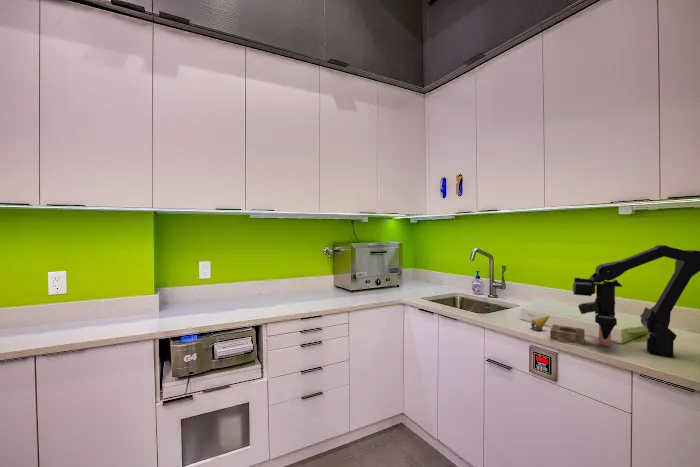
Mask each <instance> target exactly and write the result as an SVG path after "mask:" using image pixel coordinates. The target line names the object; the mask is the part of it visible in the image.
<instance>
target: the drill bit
mask: <svg viewBox="0 0 700 467" xmlns="http://www.w3.org/2000/svg"><path fill="white" fill-rule="evenodd" d="M549 318H550V315H546V316H544V317H539V318H536V319H535V318H533V319H531V323H530V325H531V326H530V327H531V328H530V330H532V331H535V332H536V331H538V330H539V331H542V330H543V329H544V326H545V325H546V323H547V321H548V320H549Z"/></svg>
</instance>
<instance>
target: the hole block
mask: <svg viewBox="0 0 700 467" xmlns="http://www.w3.org/2000/svg"><path fill="white" fill-rule="evenodd" d="M549 332H550V333H549V334H550V335H549V336H550V339H549V341H552V342H557V343H563V344H568V345H569V344H570V345H575V346H580V347H584V346H585V335H586V334H585V328H580V327H573V326H567V325H559V324H552V327H551V328H550V331H549Z"/></svg>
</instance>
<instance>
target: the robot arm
mask: <svg viewBox="0 0 700 467" xmlns="http://www.w3.org/2000/svg"><path fill="white" fill-rule="evenodd" d="M663 257H664V258H669V259H671V260H672V259H673V260H675V264H674V272H673V274H672V276H671V277H670V278H669V281H668V283H667V284H666V285H665V288H664V289H663V291H662V293H661V294H660V296H659V298H658V299H657V301H656V303H655V304H654V306H652V307H651V308H648V307H644V309H643V312H642V313H641V315H639V317H640V323H641V325H642V326H643V327H644V328H645V329H646V330H647V333H648V337H646V342H645V345H646V350H647V351H648V353H649V354H650V355H658V356H664V357H669V358H675V354H674V342H675V340H676V338H677V336H678V335H677V334H676V333H675V332H674V331H672V330H671V329H670V328H669V326H670V324H671V315H672V314H671V313H672V311H673V309H674V307H675V306H676V305H677V302H678V300H680V297H681V296H682V294H683V292H684V291H685V289H686V287H687V286H688V284H689V283H690V280H691V279H692V278H693V276H695V275H696V274H698V273H699V272H700V250H696V249H695V250H694V249H679V248H675V247H671V246H668V245H665V244H656V245H655V246H653V247H651V248H649V249H647V250H644V251H641V252H638V253H636V254H634V255H631V256H627V257H626V258H624V259H621V260H616V261H610V262H605V263H601V264H599V265H597V266H596V267H595V269H594V270H595V271H594V273H593V274H591V276H590V277H589V278H582V277H581V278H580V277H574V278H573V283H572V294H573V295H574V296H587V297H591V296H592V295H595V299H594V301H589V302H585V303H582V302H581V303H579V304H578V306H577V307H578V309H579V312H580V314H581V315H585V314H588V313H594V314H595V315H594V322H595V323H596V324H598V326H599V325H600V327H601V331H602V336H603V339H607V338H608V336H609V335H610V333H611V334H612V331H613V329H614V328H615V327H616V326H617V324H618V319H617V317H615V316H616V312H615V311H616V288H617V287H618V288H622V287H623V285H622V284H621V283H620V282H619V281H618V279H617V278H619V277H621V276H622V275H623V274H624V273H626V272H628V271H630V270H632V269H635V268H638V267H639V266H642V265H645V264H647V263H650V262H653V261H656V260H658V259H661V258H663ZM595 293H596V294H595Z"/></svg>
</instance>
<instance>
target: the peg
mask: <svg viewBox="0 0 700 467" xmlns="http://www.w3.org/2000/svg"><path fill="white" fill-rule="evenodd" d="M611 342H612V332H611V333H610V335H609V336H608V338H607V339H603V336H602V331H601V327H600V325H599V324H598V344H599V345H602V346H606V347H609V346H611V344H612V343H611Z"/></svg>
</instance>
